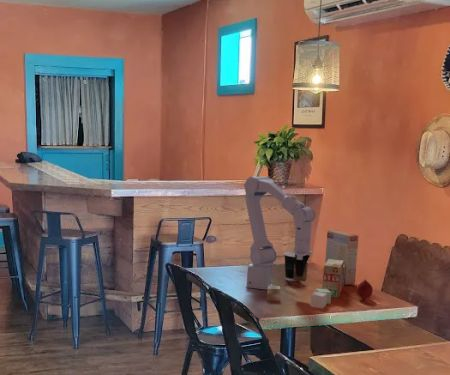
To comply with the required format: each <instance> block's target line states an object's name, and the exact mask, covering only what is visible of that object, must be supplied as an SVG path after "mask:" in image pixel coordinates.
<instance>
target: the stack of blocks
mask: <svg viewBox="0 0 450 375" xmlns="http://www.w3.org/2000/svg"><path fill="white" fill-rule="evenodd" d="M343 262H344V261H343V260H334V259H328V261H327V262H326V264H325V263H324V265H323V274H322V275H323V276H322V288H321V289H328V290H329V291H330V292H331V298H333V299H334V298H336V299H338V298H339V296H340V295H341V292H342V290H343V288H344V286H345V285H344V278H345V264H344V263H343Z"/></svg>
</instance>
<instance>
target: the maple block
mask: <svg viewBox="0 0 450 375" xmlns="http://www.w3.org/2000/svg"><path fill="white" fill-rule="evenodd" d="M266 292H267V293H266V301H276V302H279V301H280V298H281V297H280V296H281V286H280V285H273V286H270V285H268V289H267V290H266Z"/></svg>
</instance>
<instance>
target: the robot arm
mask: <svg viewBox="0 0 450 375" xmlns="http://www.w3.org/2000/svg"><path fill="white" fill-rule="evenodd" d="M243 186H244V191H245V196H244V197H245V198H244V200H245V205H246V210H247V214H248V219H249V224H250V229H251V230H250V231H251V234H252V240H253V243H252V244H251V245H250V247H249V249H250V254H249V258H250V259H249V260H250V261H251V263H249V264H248V266H247V274H246V286H245V288H249V289H251V288H252V289H256V290H257V289H259V290H260V289H261V290H266V291H267V289H268V285H270V286H274V284H273V283H272V268H273V265H274V262H276V259H277V252H276V250H275V248H274V245H273V243H272V242H271V241H270V240H269V239H268V236H267V230H266V226H265V222H264V221H265V220H264V215H263V211H262V206H261V200H262V198H264V197H265V195H267V193H268V194H269V195H270V196H272V197H273V198H275V199H277V200H278V201H279V202H280V203H281V207H282V208H283V209H284V210H285V211H287V212H288V213H289V214H290V215H291V216H292V218H293V220H294V226H295V232H294V233H295V234H294V250H293V252H294V253H295V257H293V261H294V264H295V268H296V275H297V276H298V277H302V276H303V273H304V268H305V265H306V263H307V262H308V261H309V258H310V257H311V255H313V251H311V250H310V249H311V236H312V223H313V221H314V220H315V218H316V213H315V212H316V211H315V210H314V209H313V207H312V206H306V205H305V203H303V202H301V201H300V200H298V199H297V196H296V195H291V194H290V195H287V194H286V193H285V192H284V191H283V190H282V189H281V188H280V187H279V186H278V185H277V184H276V183H275V182H274V180H273V179H271V178H270V177H269V176H267V175H265V176H249V177H248V178H246V180H245V182H244V184H243Z"/></svg>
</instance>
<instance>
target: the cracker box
mask: <svg viewBox="0 0 450 375" xmlns="http://www.w3.org/2000/svg"><path fill="white" fill-rule="evenodd" d="M359 237H360V236H359V235H357V234H354V233H350V232H348V231H347V232H346V231H343V230H339V229H328V230H327V233H326V246H325V247H326V248H325V259H324V265H325V264H326V262H327V261H328V259H334V260H343V261H344V262H343V263H344V264H345V278H344V286H348V285H355V284H356V273H357V272H356V271H357V260H358V246H359Z"/></svg>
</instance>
